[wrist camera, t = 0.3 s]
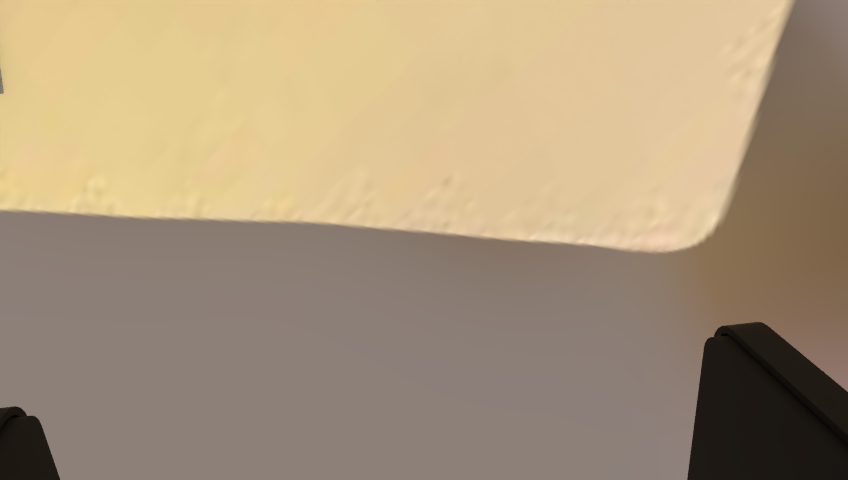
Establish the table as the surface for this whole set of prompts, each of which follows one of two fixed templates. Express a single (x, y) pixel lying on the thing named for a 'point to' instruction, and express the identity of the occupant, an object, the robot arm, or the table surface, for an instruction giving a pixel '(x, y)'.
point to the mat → (0, 86)
